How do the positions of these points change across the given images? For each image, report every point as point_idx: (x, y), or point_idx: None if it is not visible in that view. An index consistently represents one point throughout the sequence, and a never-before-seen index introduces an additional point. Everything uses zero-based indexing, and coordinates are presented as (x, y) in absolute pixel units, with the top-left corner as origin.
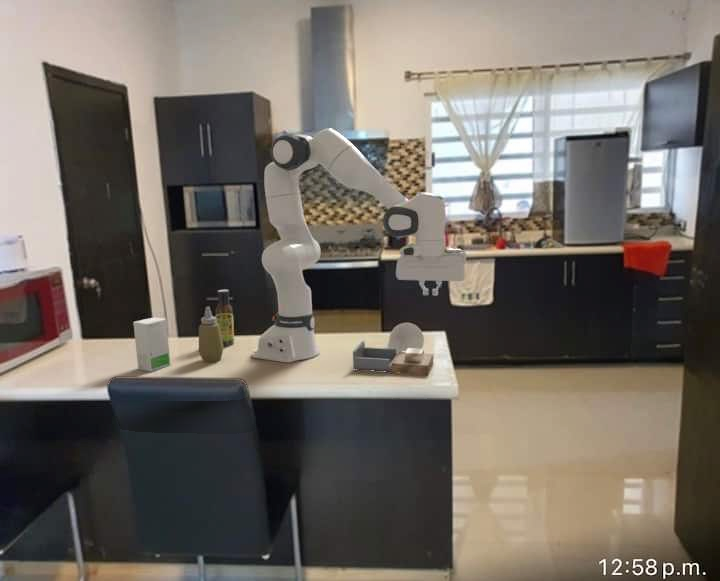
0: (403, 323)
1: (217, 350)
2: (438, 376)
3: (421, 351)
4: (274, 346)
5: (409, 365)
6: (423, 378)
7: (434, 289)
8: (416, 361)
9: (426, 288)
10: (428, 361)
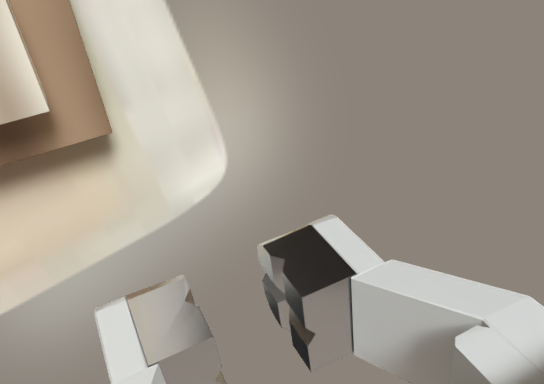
0: None
1: None
2: (156, 105)
3: (25, 67)
4: None
5: (5, 161)
6: (102, 160)
7: (339, 339)
8: None
9: (172, 358)
10: (83, 71)
